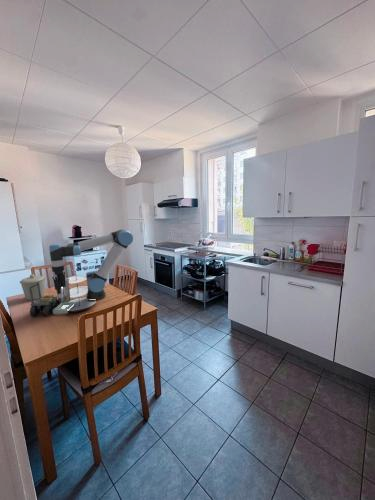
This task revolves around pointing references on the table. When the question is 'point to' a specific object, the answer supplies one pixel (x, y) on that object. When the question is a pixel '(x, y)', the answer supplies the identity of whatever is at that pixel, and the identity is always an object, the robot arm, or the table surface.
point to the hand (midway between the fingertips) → (61, 296)
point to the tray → (62, 311)
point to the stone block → (66, 291)
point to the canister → (31, 281)
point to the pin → (62, 300)
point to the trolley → (42, 303)
